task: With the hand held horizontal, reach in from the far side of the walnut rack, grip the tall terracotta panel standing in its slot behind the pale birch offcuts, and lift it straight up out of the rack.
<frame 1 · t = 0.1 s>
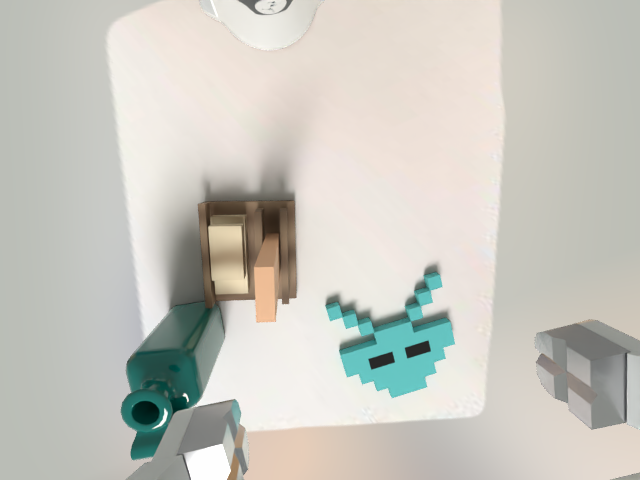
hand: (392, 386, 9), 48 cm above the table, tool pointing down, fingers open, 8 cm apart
rack: (252, 249, 57), on the table
panel: (273, 251, 55), point 1 cm above the table, touching rack
pitcher: (198, 328, 59), on the table
alien figure: (392, 337, 63), on the table
offcut stack: (232, 252, 55), point 1 cm above the table, touching rack
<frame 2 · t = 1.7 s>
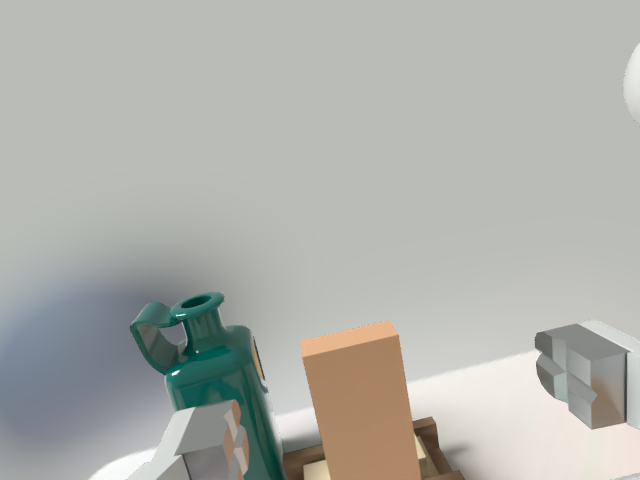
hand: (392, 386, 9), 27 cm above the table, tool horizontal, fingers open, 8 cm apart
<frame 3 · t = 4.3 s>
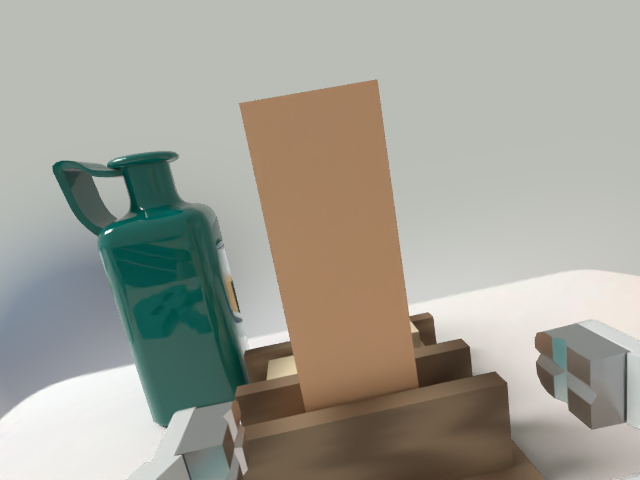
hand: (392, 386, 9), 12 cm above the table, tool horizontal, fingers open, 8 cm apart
rack: (363, 437, 24), on the table
panel: (371, 461, 20), point 1 cm above the table, touching rack
pitcher: (201, 393, 32), on the table
offcut stack: (351, 391, 26), point 1 cm above the table, touching rack
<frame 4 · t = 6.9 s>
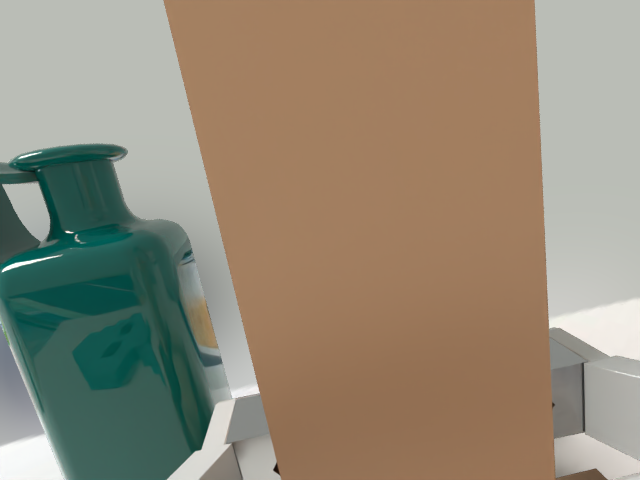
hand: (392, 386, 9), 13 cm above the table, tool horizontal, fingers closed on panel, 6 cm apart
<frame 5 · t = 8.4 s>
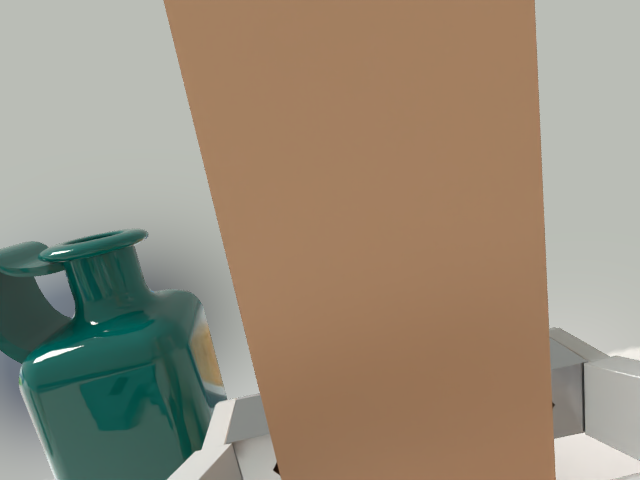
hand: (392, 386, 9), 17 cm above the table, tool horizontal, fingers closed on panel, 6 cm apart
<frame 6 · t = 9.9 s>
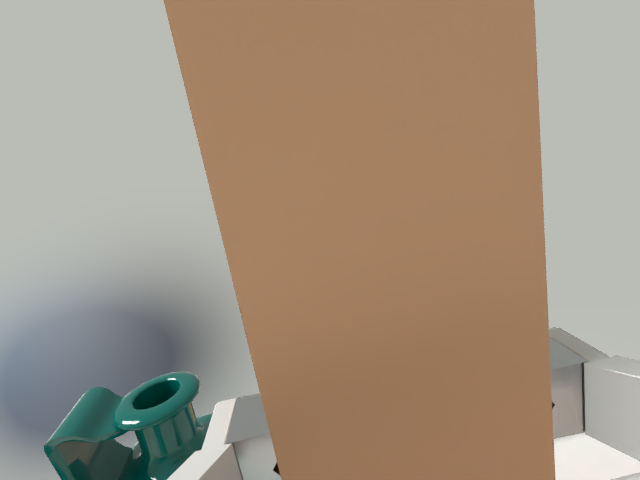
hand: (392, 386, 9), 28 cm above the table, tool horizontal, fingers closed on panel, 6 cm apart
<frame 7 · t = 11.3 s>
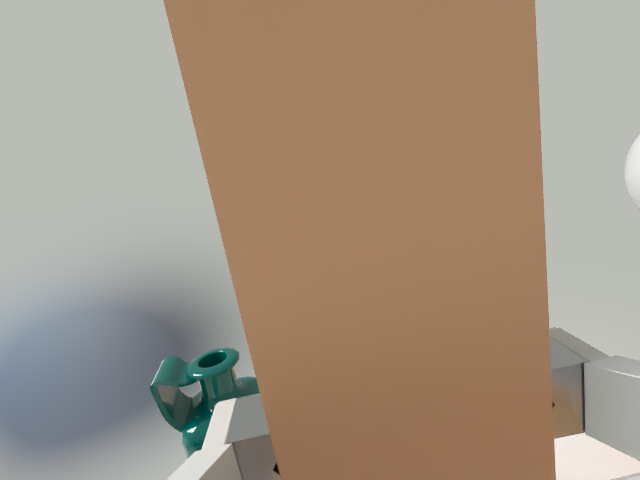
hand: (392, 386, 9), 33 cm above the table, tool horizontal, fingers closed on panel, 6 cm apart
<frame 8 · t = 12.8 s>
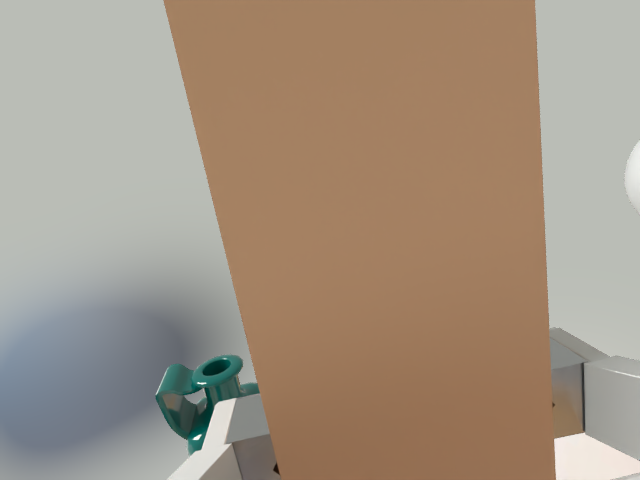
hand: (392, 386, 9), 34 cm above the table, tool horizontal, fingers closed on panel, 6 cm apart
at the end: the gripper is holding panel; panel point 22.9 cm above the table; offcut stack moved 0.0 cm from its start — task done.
